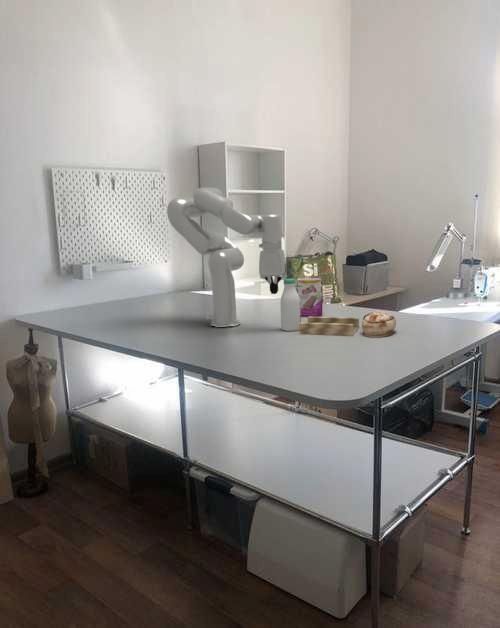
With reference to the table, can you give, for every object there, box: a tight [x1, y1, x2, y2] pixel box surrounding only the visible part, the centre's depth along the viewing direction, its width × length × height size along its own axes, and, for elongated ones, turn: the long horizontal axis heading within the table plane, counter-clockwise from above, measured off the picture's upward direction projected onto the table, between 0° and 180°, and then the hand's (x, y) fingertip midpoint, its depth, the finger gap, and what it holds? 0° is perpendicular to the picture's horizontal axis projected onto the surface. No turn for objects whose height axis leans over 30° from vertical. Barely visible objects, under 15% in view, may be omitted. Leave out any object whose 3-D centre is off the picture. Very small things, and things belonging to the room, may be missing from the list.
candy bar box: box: [296, 278, 323, 317], centre depth 236 cm, size 11×5×16 cm, turn 84°
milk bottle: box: [280, 278, 302, 332], centre depth 210 cm, size 8×8×20 cm
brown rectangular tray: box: [299, 316, 360, 337], centre depth 205 cm, size 20×14×4 cm
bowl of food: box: [361, 310, 397, 338], centre depth 198 cm, size 13×15×8 cm
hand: (274, 293), depth 211 cm, fingers closed
